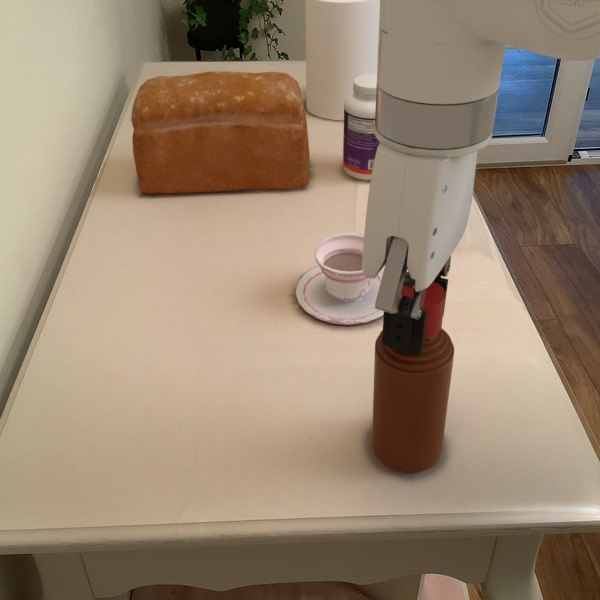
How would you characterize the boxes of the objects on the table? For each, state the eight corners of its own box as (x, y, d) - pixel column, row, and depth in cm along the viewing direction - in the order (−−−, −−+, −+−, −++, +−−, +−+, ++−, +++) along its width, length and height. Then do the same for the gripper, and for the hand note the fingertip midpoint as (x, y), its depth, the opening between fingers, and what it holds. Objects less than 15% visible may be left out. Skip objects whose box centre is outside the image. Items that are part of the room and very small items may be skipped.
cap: (402, 303, 56) (404, 272, 54) (449, 316, 54) (452, 285, 52) (382, 331, 53) (384, 299, 51) (431, 346, 51) (434, 314, 49)
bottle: (450, 431, 63) (469, 284, 53) (430, 482, 59) (447, 332, 48) (385, 411, 65) (392, 267, 55) (361, 459, 61) (364, 311, 51)
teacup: (385, 334, 74) (389, 290, 71) (282, 316, 77) (280, 272, 74) (404, 274, 83) (408, 231, 80) (311, 259, 86) (311, 217, 83)
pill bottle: (360, 155, 110) (363, 67, 101) (403, 167, 106) (410, 77, 97) (332, 174, 105) (333, 83, 96) (377, 188, 101) (382, 94, 92)
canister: (336, 87, 134) (338, -21, 122) (392, 103, 127) (400, -10, 115) (291, 108, 126) (288, -6, 114) (349, 126, 119) (352, 7, 107)
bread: (147, 158, 110) (131, 62, 101) (306, 151, 111) (305, 56, 102) (136, 200, 100) (116, 96, 90) (312, 192, 100) (311, 89, 91)
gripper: (425, 64, 50) (408, 266, 61) (321, 152, 39) (323, 381, 50) (527, 78, 47) (489, 288, 58) (447, 178, 36) (419, 416, 47)
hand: (413, 329), depth 54 cm, fingers closed on cap, 3 cm apart
